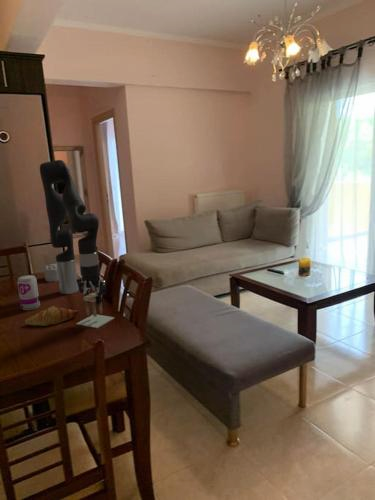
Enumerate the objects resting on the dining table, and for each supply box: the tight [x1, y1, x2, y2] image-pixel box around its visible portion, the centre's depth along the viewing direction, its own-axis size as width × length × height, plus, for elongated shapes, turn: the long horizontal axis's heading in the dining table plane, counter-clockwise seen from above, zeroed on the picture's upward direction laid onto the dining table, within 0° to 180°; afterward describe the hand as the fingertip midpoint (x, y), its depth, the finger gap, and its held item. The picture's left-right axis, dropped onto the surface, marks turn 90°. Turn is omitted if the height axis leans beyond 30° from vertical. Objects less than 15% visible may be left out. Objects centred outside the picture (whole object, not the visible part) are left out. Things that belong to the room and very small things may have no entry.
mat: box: [75, 313, 115, 329], centre depth 155 cm, size 11×11×1 cm
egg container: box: [43, 262, 59, 283], centre depth 223 cm, size 10×13×9 cm
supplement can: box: [16, 274, 41, 311], centre depth 174 cm, size 8×8×15 cm
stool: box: [83, 292, 104, 317], centre depth 153 cm, size 5×5×8 cm
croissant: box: [24, 305, 79, 327], centre depth 157 cm, size 21×10×8 cm, turn 111°
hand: (93, 303), depth 153 cm, fingers closed on stool, 5 cm apart
